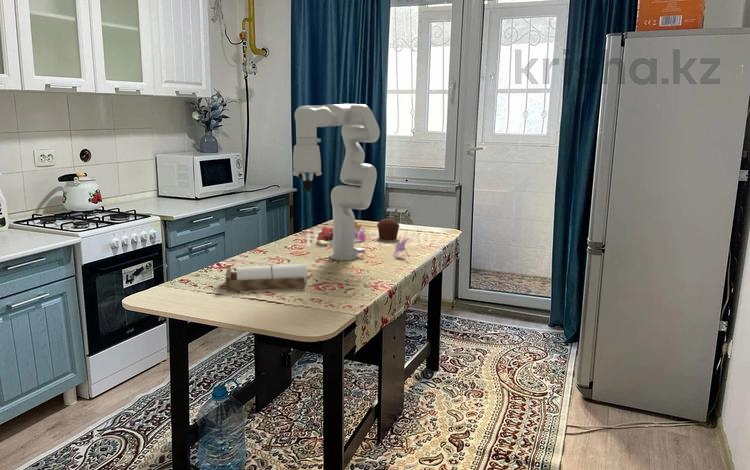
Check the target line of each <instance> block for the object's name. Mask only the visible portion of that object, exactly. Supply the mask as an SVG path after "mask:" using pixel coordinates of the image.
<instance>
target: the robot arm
mask: <svg viewBox="0 0 750 470" xmlns="http://www.w3.org/2000/svg"><path fill="white" fill-rule="evenodd" d="M294 121H295V135H296V136H295V138H296V140H295V141H296V144H295V145H294V146H293V155H292V157H293V158H292V161H293V162H292V167H293V172H292V175H293V176H296V177H299V178H300V179H301V180H302V182H303V185H302V186H303V190H305V192H311V190H312V187H313V185H312V181H313V180H314V179H315V177H318V176H321V175H322V174H323V173H322V170H321V169H322V162H321V161H322V160H321V152H320V151H321V150H320V145H318V143H321V141H322V139H321V138H318V137H317V133H318V131H317V129H318V128H324V127H325V128H326V127H337V126H341V137H342V141H343V144H344V147H345V155H344V158H343V163H342V166H341V170H340V175H339V180H340V181H341V182H342V184H345V185H337V186H335V187H333V188H332V189H331V193H330V201H331V206H332V228H333V246H332V252H329V255H328V258H329V259H332V260H334V261H345V262H346V261H353V260H356V259H358V257H359V254H365V253H366V249H365V248H361V247H356V246H355V245H356V243H355V221H356V217H355V214H354V212H353V210H362V211H363V210H366V209H368V208H369V207H370V205H371V202H372V199H373V196H374V195H373V194H374V191H375V187H376V182H377V178H378V177H377V175H378V174H377V169H376V167H375V166H374V165H372V164H370V163H364V161H365V158H366V157H365V156H366V154H365V151H364V149H363V147H362V146H361V144H360V143H369V144H370V143H376V142H377V141H378V140H379V138H380V134H381V132H380V127H379V124H378V122H377V120H376V118H375V115H374V113H373V111H372V109H370V107H369V106H368V105H366V104H363V103H362V104H361V103H359V104H357V103H340V104H339V103H337V104H335V103H334V104H322V105H321V104H320V105H319V104H318V105H300V106H298V107H297V108H296V110H295V112H294ZM306 173H307V174H308V178H307V175H306ZM352 209H353V210H352Z"/></svg>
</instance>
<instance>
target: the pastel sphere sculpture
mask: <svg viewBox="0 0 750 470" xmlns="http://www.w3.org/2000/svg"><path fill="white" fill-rule="evenodd" d="M361 227H362V228H361ZM365 230H366V228H365V227H364V226H362V223H360V224H358V221H357V220H355V244H356V243H362V242H365V241H366V234H365ZM317 235H318V236H317V237H316V243H317V244H319V245H324V246H331V247H333V226H331V227H329V226H327V225H325V226H323V227H322V228H321V231H320V232H319V233H318V234H317Z"/></svg>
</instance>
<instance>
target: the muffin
mask: <svg viewBox="0 0 750 470" xmlns="http://www.w3.org/2000/svg"><path fill="white" fill-rule="evenodd" d="M376 227H377V232H378V236H379V237H378V238H379V240H381V241H382V240H383V241H395V240H397V239H398V233H399V228H400V224H399V223H398V222H397V220H395V219H393V218H387V217H386V218H383V219H381V220H379V221H378V222H377V224H376Z"/></svg>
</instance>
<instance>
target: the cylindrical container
mask: <svg viewBox="0 0 750 470" xmlns="http://www.w3.org/2000/svg"><path fill="white" fill-rule="evenodd" d="M236 272H237V280H251V279H276V278H301V277H304V284H307V283H308V269H307V264H305V263H301V264H298V263H297V264H282V265H281V264H279V265H277V264H276V265H258V266H257V265H256V266H253V265H252V266H237V267H236Z"/></svg>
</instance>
